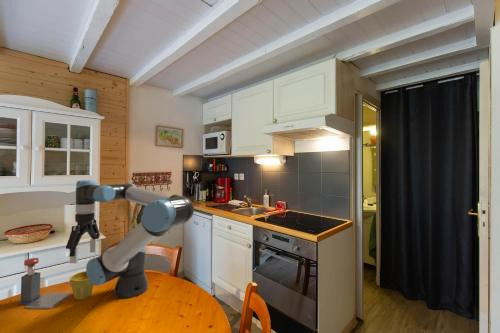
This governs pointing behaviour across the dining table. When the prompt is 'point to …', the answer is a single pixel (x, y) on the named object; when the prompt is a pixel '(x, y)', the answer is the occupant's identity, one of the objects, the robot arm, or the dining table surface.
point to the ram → (31, 265)
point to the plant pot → (81, 285)
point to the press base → (38, 294)
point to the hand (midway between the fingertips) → (83, 257)
